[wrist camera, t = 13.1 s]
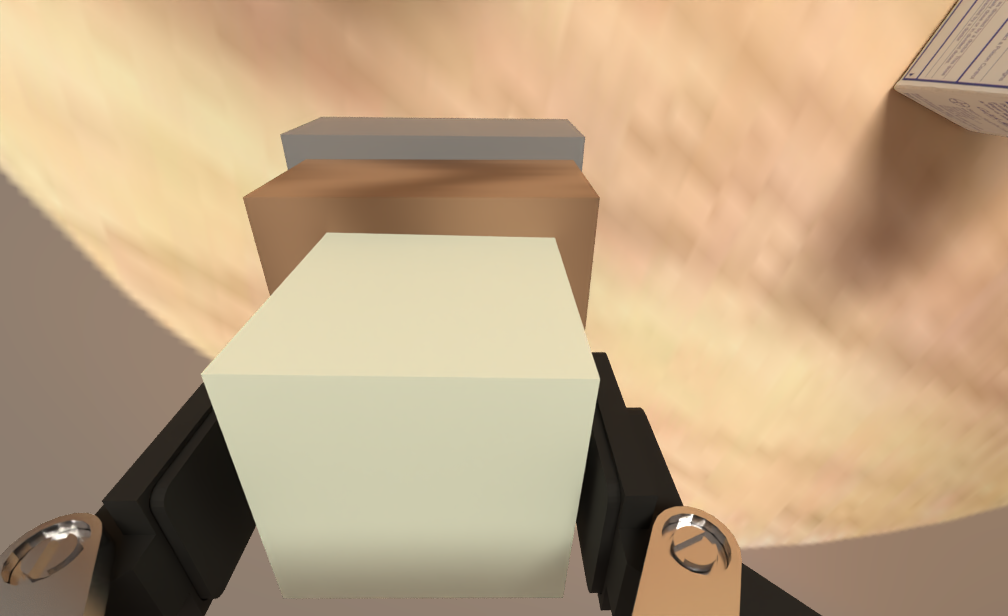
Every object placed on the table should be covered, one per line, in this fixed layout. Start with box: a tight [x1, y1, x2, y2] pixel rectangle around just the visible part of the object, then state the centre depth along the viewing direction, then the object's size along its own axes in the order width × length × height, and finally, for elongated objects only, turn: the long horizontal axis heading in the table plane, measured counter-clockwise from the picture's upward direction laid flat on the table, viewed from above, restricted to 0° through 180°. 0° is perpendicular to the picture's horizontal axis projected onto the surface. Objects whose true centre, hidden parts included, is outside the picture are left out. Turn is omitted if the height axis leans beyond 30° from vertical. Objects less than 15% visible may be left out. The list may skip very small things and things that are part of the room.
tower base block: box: [280, 117, 585, 172], centre depth 20 cm, size 10×10×4 cm
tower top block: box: [243, 159, 600, 330], centre depth 16 cm, size 9×9×4 cm
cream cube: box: [201, 233, 600, 599], centre depth 11 cm, size 6×6×6 cm
